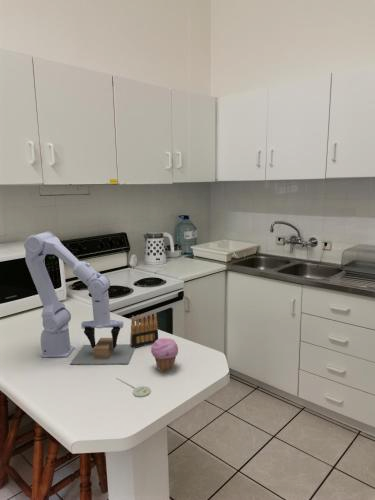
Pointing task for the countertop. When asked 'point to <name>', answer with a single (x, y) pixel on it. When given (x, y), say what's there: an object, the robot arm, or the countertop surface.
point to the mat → (118, 357)
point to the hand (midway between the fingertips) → (104, 346)
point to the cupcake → (164, 353)
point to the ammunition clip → (143, 331)
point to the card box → (103, 348)
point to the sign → (140, 390)
